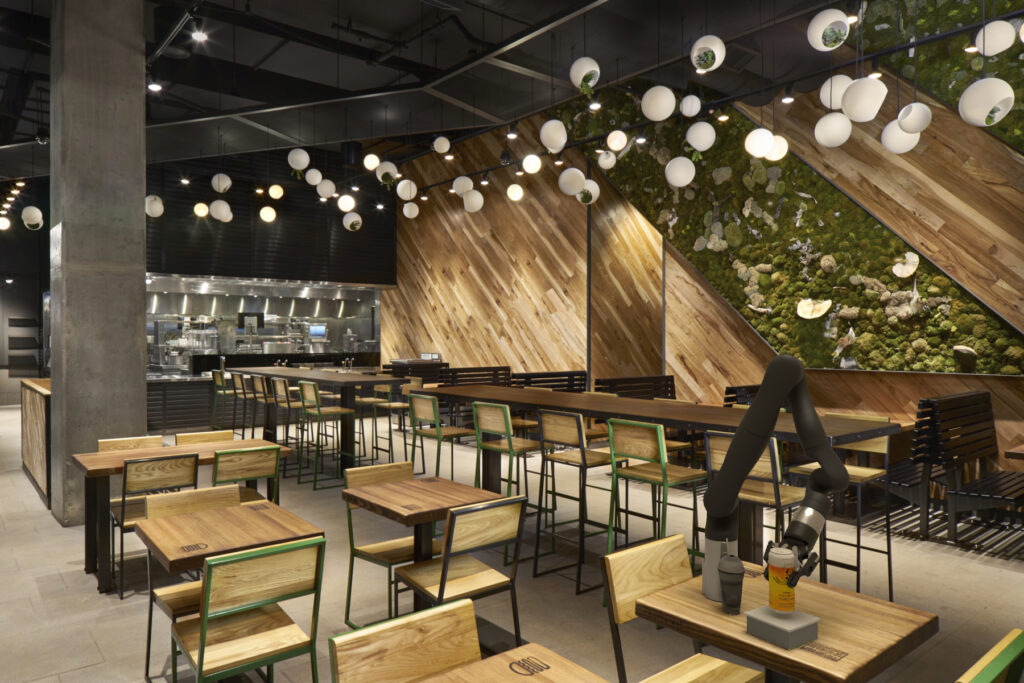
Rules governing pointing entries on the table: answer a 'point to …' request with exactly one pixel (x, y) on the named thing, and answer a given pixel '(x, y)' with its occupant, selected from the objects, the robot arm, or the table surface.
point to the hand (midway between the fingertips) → (777, 582)
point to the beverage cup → (731, 582)
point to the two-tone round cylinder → (781, 580)
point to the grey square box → (782, 626)
